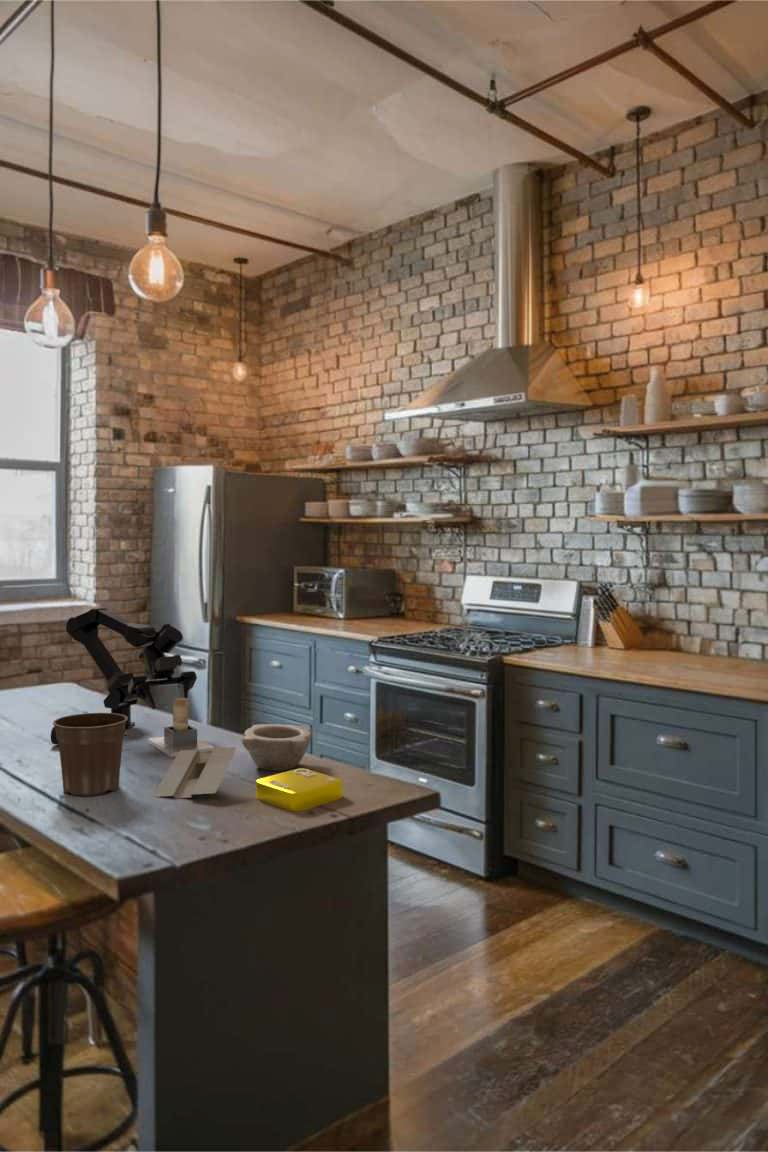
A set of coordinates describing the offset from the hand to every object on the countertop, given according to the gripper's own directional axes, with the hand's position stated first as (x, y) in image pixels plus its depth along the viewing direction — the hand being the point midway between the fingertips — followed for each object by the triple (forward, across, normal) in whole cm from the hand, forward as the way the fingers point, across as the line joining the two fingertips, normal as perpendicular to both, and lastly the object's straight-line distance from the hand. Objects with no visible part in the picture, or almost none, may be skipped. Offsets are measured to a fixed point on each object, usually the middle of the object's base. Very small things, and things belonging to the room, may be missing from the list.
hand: (170, 706), depth 243 cm
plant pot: (+30, -31, -16) cm, 47 cm away
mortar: (+35, +14, -21) cm, 43 cm away
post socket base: (+12, 0, +1) cm, 13 cm away
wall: (+41, -12, -27) cm, 50 cm away
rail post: (+12, 0, 0) cm, 12 cm away
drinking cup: (-4, -29, +14) cm, 32 cm away
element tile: (+52, +6, -38) cm, 65 cm away
